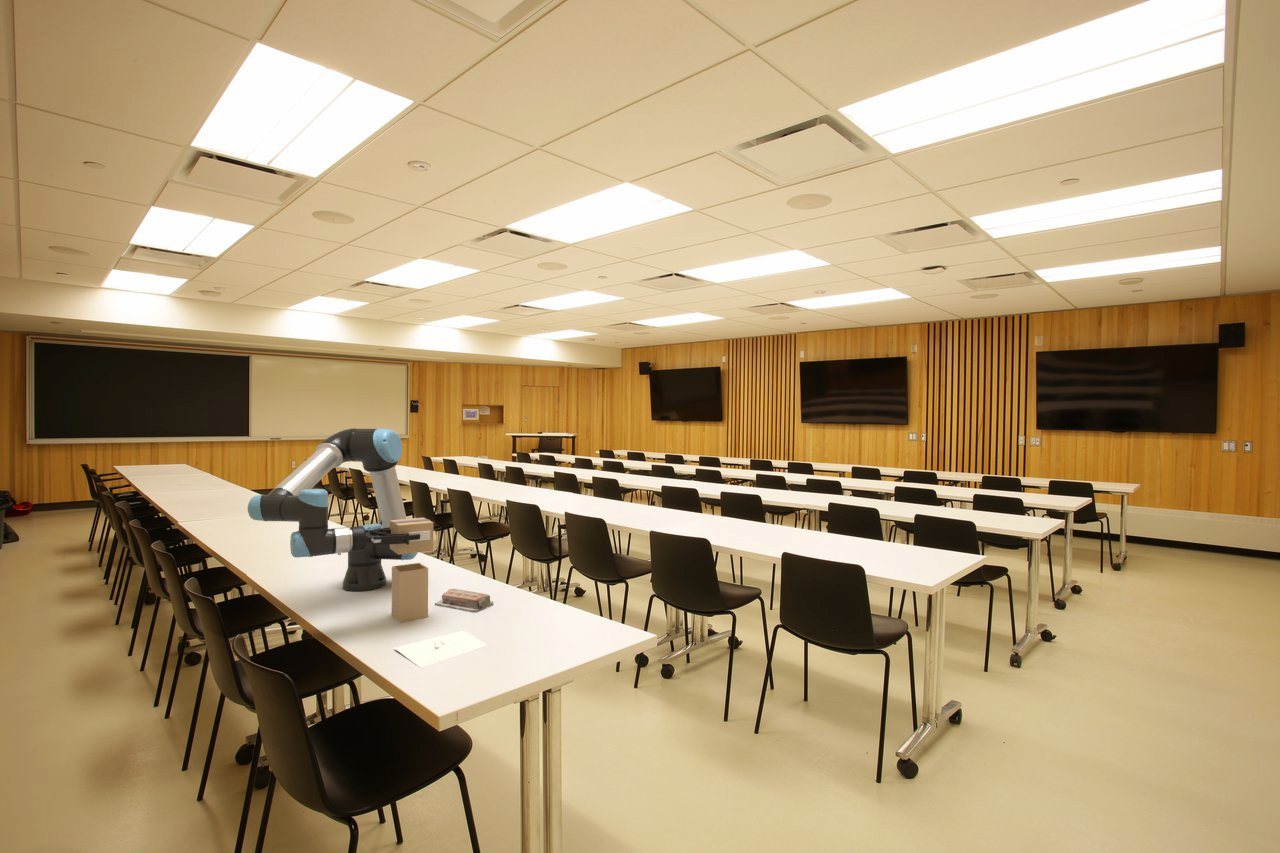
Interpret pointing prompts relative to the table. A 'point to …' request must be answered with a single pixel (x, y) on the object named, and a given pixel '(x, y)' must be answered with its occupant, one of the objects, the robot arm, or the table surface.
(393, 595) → the tan tall box
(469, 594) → the packaged product
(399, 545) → the brown cardboard block
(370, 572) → the robot arm
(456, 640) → the paper sheet
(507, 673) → the table surface
